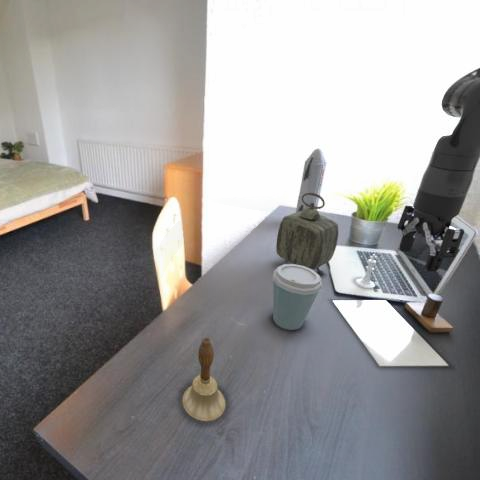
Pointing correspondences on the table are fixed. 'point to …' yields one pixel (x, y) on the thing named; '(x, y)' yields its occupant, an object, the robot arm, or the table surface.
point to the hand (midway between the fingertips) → (416, 260)
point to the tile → (387, 334)
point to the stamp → (429, 314)
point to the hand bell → (204, 389)
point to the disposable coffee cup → (294, 294)
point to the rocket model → (312, 179)
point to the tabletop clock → (307, 237)
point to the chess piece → (368, 274)
